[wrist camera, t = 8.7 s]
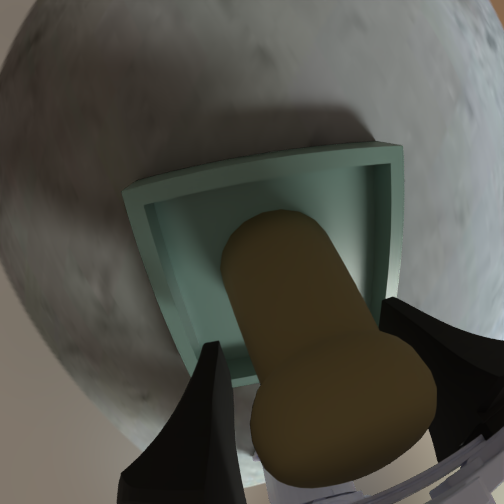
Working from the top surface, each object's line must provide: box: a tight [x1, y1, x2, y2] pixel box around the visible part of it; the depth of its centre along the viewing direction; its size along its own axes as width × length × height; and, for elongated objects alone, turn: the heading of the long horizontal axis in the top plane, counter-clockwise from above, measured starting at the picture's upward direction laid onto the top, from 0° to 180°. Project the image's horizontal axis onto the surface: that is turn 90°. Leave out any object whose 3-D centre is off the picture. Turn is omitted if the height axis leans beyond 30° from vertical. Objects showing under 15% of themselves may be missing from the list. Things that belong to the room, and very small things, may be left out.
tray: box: [121, 141, 404, 388], centre depth 15 cm, size 13×13×2 cm
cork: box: [220, 209, 437, 489], centre depth 10 cm, size 6×6×11 cm
